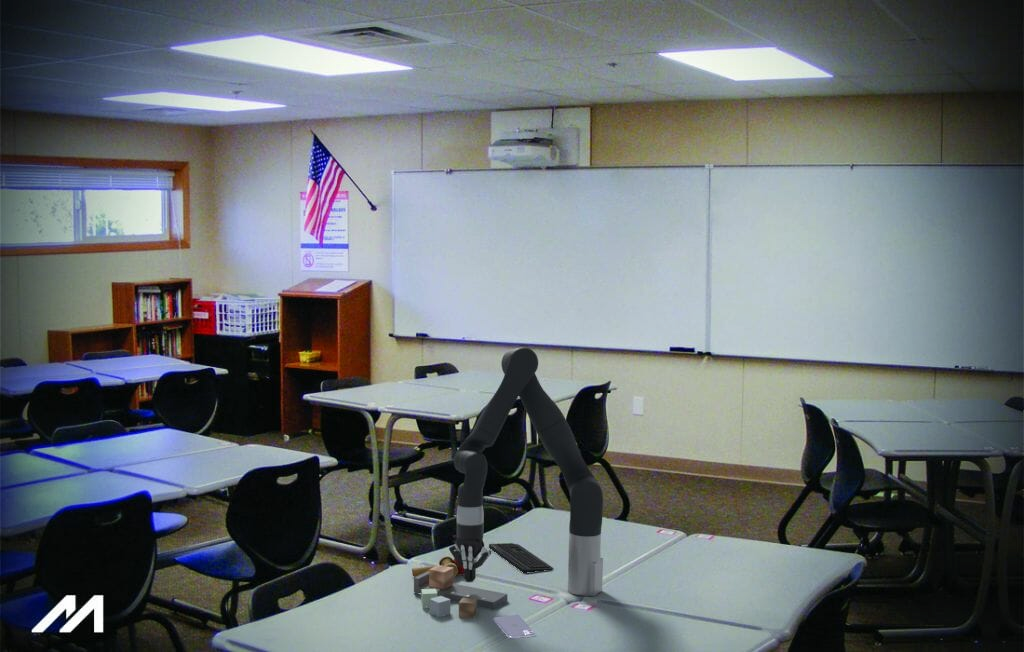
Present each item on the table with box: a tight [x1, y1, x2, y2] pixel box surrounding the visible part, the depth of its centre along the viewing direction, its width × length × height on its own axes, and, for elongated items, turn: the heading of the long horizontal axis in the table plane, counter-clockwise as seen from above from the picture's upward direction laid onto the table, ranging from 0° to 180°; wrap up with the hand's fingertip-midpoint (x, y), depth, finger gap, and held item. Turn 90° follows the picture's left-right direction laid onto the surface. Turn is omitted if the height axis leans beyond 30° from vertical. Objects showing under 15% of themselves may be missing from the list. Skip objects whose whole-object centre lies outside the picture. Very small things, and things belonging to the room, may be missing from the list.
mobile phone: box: [493, 614, 537, 639], centre depth 258 cm, size 8×1×15 cm
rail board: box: [413, 571, 508, 610], centre depth 280 cm, size 26×8×4 cm, turn 62°
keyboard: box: [488, 542, 554, 574], centre depth 318 cm, size 30×11×2 cm, turn 23°
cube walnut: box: [458, 598, 478, 619], centre depth 266 cm, size 4×4×4 cm
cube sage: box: [420, 589, 437, 607], centre depth 273 cm, size 4×4×4 cm
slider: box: [429, 564, 454, 590], centre depth 283 cm, size 5×5×5 cm
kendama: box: [411, 555, 464, 579], centre depth 299 cm, size 8×6×18 cm
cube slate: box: [428, 596, 451, 618], centre depth 267 cm, size 4×4×4 cm
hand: (469, 581), depth 279 cm, fingers closed
